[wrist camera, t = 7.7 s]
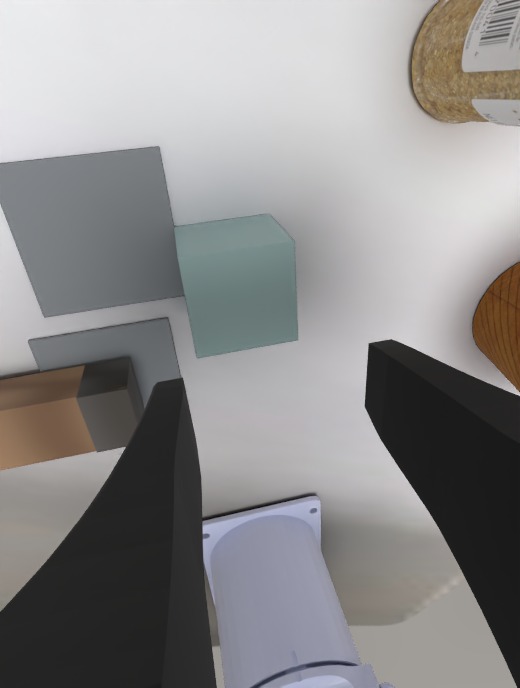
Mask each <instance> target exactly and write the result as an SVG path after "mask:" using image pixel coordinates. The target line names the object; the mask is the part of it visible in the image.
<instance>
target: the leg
mask: <svg viewBox="0 0 520 688" xmlns="http://www.w3.org/2000/svg"><path fill="white" fill-rule="evenodd" d="M144 409H145V408H144V404H143V401H142V397H141V394H140V390H139V387H138V383H137V380H136V376H135V373H134V369H133V366H132V362H131V359H130V357H129V358H123V359H117V360H112V361H106V362H100V363H94V364H89V365H83V366H77V367H71V368H66V369H60V370H54V371H49V372H43V373H37V374H31V375H26V376H20V377H14V378H9V379H3V380H0V470H5V469H10V468H15V467H20V466H25V465H29V464H34V463H39V462H44V461H49V460H54V459H59V458H64V457H69V456H74V455H79V454H84V453H89V452H94V451H97V452H101V451H106V450H111V449H116V448H121V447H126V446H127V445H128V443H129V441H130V439H131V437H132V435H133V433H134V431H135V429H136V427H137V425H138V423H139V421H140V419H141V416H142V414H143V412H144Z"/></svg>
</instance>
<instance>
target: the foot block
mask: <svg viewBox="0 0 520 688" xmlns="http://www.w3.org/2000/svg"><path fill="white" fill-rule="evenodd" d="M174 232H175V240H176V248H177V256H178V262H179V267H180V272H181V278H182V283H183V288H184V293H185V299H186V304H187V309H188V314H189V320H190V325H191V330H192V335H193V341H194V346H195V351H196V357H197V358H202V357H207V356H213V355H218V354H224V353H230V352H235V351H241V350H246V349H252V348H257V347H263V346H268V345H274V344H280V343H285V342H291V341H296V340H298V321H297V297H296V272H295V247H294V240H293V239H292V238H291V237H290V236H289V234H288V233H287V232H286V231H285V230H284V229H283V228H282V227H281V226H280V225H279V224H278V223H277V222H276V221H275V220H274V219H273V217H272V216H271V215H270V214H262V215H255V216H248V217H240V218H233V219H226V220H219V221H211V222H204V223H197V224H190V225H182V226H175V227H174Z"/></svg>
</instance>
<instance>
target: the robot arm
mask: <svg viewBox="0 0 520 688" xmlns="http://www.w3.org/2000/svg"><path fill="white" fill-rule="evenodd" d="M365 408H366V410H367V412H368V414H369V417H370V419H371V421H372V423H373V425H374V427H375V429H376V431H377V433H378V435H379V437H380V439H381V441H382V442H383V444H384V445H385V447H386V448H387V450H388V451H389V453H390V454H391V456H392V457H393V459H394V460H395V462H396V463H397V465H398V466H399V468H400V469H401V471H402V472H403V474H404V475H405V477H406V478H407V480H408V481H409V483H410V484H411V486H412V487H413V489H414V490H415V492H416V493H417V495H418V496H419V498H420V499H421V501H422V502H423V504H424V505H425V507H426V508H427V510H428V511H429V513H430V514H431V516H432V518H433V519H434V521H435V522H436V524H437V526H438V527H439V529H440V531H441V533H442V535H443V536H444V538H445V540H446V542H447V544H448V546H449V548H450V550H451V551H452V553H453V555H454V557H455V559H456V561H457V563H458V565H459V566H460V568H461V570H462V572H463V574H464V576H465V578H466V580H467V582H468V584H469V586H470V588H471V590H472V592H473V594H474V596H475V598H476V600H477V602H478V604H479V606H480V608H481V610H482V612H483V614H484V616H485V618H486V620H487V623H488V625H489V627H490V629H491V631H492V633H493V635H494V637H495V639H496V642H497V644H498V646H499V648H500V650H501V652H502V654H503V657H504V659H505V661H506V663H507V665H508V668H509V670H510V672H511V674H512V677H513V679H514V681H515V683H516V686H517V688H520V396H518V395H515V394H513V393H510V392H508V391H506V390H503V389H501V388H498V387H496V386H493V385H491V384H488V383H486V382H484V381H482V380H479V379H477V378H475V377H472V376H470V375H468V374H466V373H464V372H461V371H459V370H457V369H455V368H453V367H451V366H449V365H446V364H444V363H442V362H440V361H438V360H436V359H434V358H432V357H430V356H428V355H426V354H423V353H421V352H419V351H417V350H415V349H413V348H411V347H409V346H406V345H404V344H402V343H399V342H397V341H394V340H392V339H390V340H385V341H379V342H374V343H369V348H368V363H367V379H366V395H365ZM203 561H204V565H205V569H206V573H207V577H208V581H209V585H210V589H211V593H212V597H213V601H214V605H215V607H216V615H217V623H218V632H219V641H220V649H221V657H222V667H223V675H224V683H225V688H395V687H394V686H393V685H392V684H390V683H387V682H385V683H382V684H380V685H378V682H377V679H376V677H375V674H374V671H373V669H372V666H371V664H365V665H362V663H361V661H360V658H359V655H358V652H357V650H356V647H355V644H354V641H353V639H352V636H351V633H350V630H349V627H348V625H347V622H346V619H345V616H344V613H343V611H342V608H341V605H340V602H339V600H338V597H337V594H336V591H335V589H334V586H333V583H332V580H331V577H330V575H329V572H328V569H327V566H326V564H325V561H324V558H323V555H322V553H321V503H320V500H319V498H318V497H317V496H309V497H305V498H301V499H296V500H292V501H288V502H283V503H279V504H275V505H270V506H266V507H262V508H257V509H253V510H249V511H244V512H240V513H236V514H231V515H227V516H223V517H218V518H214V519H210V520H205V521H202V489H201V473H200V465H199V458H198V451H197V444H196V438H195V433H194V428H193V424H192V419H191V414H190V410H189V405H188V400H187V395H186V391H185V386H184V381H183V378H177V379H172V380H166V381H161V382H157V383H156V384H155V385H154V387H153V389H152V392H151V395H150V397H149V400H148V403H147V405H146V407H145V410H144V412H143V414H142V416H141V419H140V421H139V423H138V425H137V427H136V429H135V431H134V433H133V435H132V437H131V439H130V441H129V443H128V445H127V446H126V448H125V450H124V452H123V454H122V455H121V457H120V459H119V460H118V462H117V464H116V466H115V467H114V469H113V471H112V472H111V474H110V476H109V477H108V479H107V481H106V482H105V484H104V485H103V487H102V488H101V490H100V491H99V493H98V494H97V496H96V497H95V499H94V500H93V502H92V503H91V504H90V506H89V507H88V509H87V510H86V511H85V513H84V514H83V516H82V517H81V518H80V520H79V521H78V522H77V524H76V525H75V526H74V527H73V529H72V530H71V531H70V533H69V534H68V535H67V536H66V538H65V539H64V540H63V541H62V543H61V544H60V545H59V547H58V548H57V549H56V550H55V551H54V553H53V554H52V555H51V556H50V557H49V559H48V560H47V561H46V562H45V563H44V565H43V566H42V567H41V568H40V569H39V570H38V571H37V573H36V574H35V575H34V576H33V577H32V578H31V579H30V580H29V581H28V582H27V583H26V585H25V586H24V587H23V588H22V589H21V590H20V591H19V592H18V593H17V594H16V595H15V597H14V598H13V599H12V600H11V601H10V602H9V603H8V604H7V605H6V606H5V608H4V609H3V610H2V611H1V612H0V688H217V686H216V678H215V669H214V661H213V653H212V644H211V636H210V628H209V619H208V610H207V602H206V593H205V582H204V567H203Z"/></svg>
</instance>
